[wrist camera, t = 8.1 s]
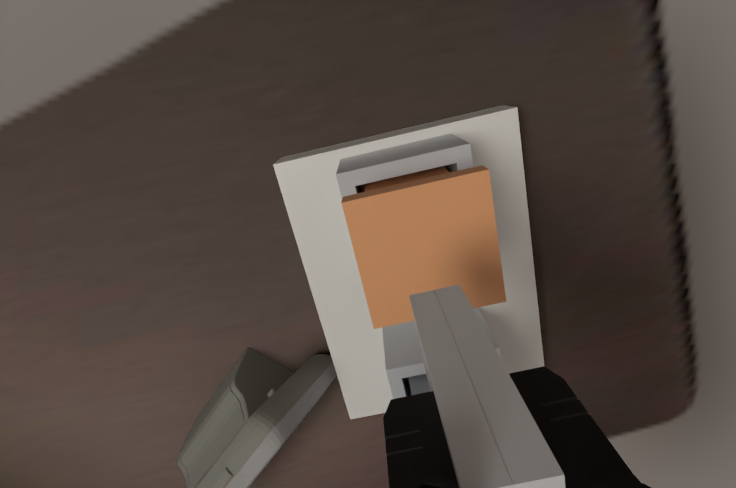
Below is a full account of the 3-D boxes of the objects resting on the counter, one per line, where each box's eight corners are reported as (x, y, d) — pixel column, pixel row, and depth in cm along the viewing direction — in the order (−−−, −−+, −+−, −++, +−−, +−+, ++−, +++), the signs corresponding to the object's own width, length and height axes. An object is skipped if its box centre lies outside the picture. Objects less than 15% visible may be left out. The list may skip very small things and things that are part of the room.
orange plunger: (370, 261, 27) (373, 329, 19) (347, 168, 25) (341, 202, 17) (465, 241, 26) (506, 301, 19) (449, 144, 24) (488, 169, 17)
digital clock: (238, 483, 39) (195, 618, 29) (158, 426, 37) (81, 552, 27) (368, 380, 35) (370, 495, 25) (288, 310, 33) (256, 406, 23)
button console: (351, 393, 36) (348, 474, 28) (281, 157, 29) (253, 181, 22) (531, 357, 35) (577, 431, 27) (501, 105, 28) (552, 111, 21)
